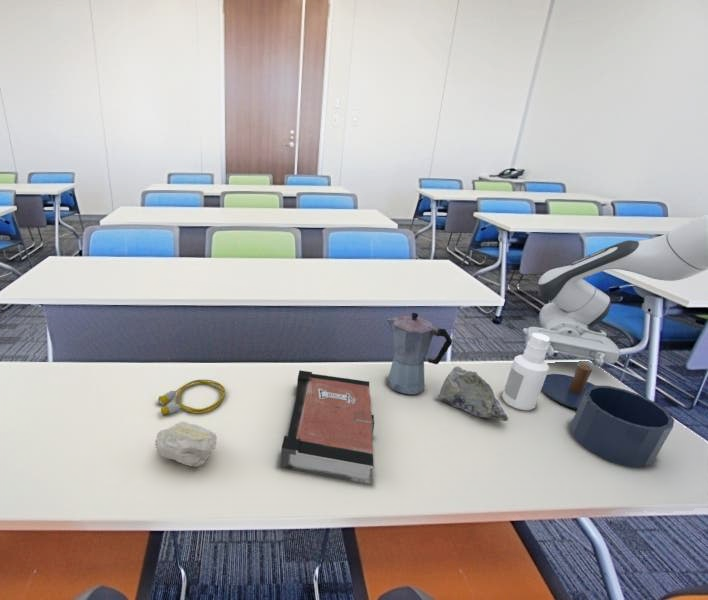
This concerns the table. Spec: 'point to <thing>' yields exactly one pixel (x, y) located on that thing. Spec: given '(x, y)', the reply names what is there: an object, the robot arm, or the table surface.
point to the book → (330, 428)
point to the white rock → (186, 443)
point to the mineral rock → (471, 394)
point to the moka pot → (412, 352)
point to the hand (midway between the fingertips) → (576, 358)
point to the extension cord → (177, 406)
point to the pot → (621, 426)
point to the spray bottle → (527, 374)
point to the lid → (568, 386)
